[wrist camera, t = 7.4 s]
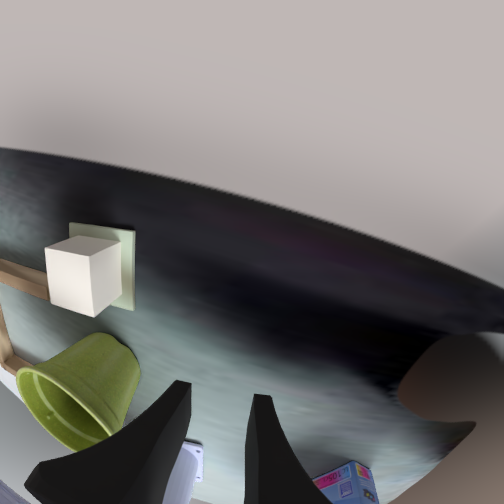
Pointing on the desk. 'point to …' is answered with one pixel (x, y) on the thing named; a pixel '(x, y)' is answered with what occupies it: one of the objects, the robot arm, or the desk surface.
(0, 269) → the brown bent bar
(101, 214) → the desk surface
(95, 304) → the cream block
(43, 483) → the robot arm
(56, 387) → the plant pot
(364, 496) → the ink cartridge box
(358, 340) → the desk surface
